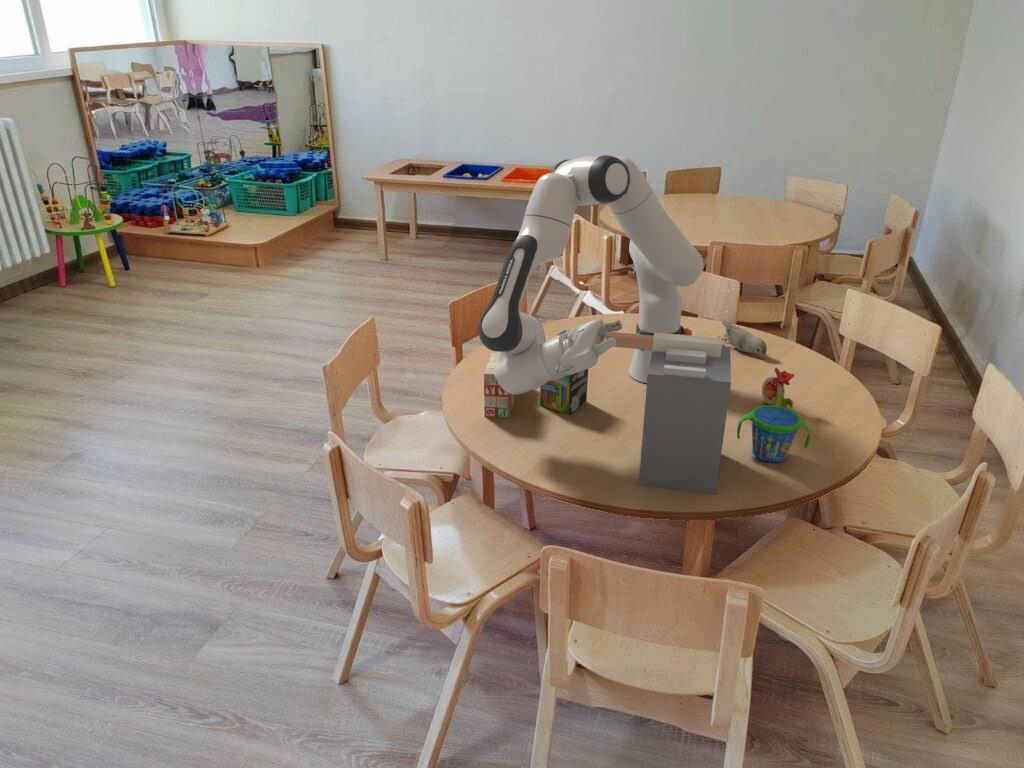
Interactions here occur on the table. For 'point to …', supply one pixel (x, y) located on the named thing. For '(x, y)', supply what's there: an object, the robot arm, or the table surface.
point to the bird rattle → (777, 389)
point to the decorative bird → (744, 340)
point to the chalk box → (565, 392)
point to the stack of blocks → (495, 393)
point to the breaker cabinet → (685, 419)
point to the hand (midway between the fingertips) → (618, 331)
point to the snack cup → (773, 431)
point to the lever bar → (668, 342)
